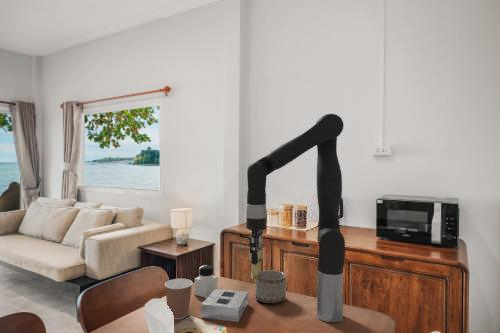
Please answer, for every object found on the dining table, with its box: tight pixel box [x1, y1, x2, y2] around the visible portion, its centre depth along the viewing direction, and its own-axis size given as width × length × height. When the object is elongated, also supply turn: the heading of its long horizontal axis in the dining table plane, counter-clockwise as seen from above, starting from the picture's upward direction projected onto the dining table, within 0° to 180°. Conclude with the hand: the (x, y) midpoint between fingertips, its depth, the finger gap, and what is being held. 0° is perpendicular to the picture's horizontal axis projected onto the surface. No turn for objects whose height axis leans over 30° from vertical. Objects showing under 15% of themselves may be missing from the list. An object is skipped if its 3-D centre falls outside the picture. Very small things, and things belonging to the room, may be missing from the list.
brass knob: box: [248, 248, 264, 280], centre depth 128 cm, size 5×5×10 cm
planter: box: [254, 269, 287, 304], centre depth 145 cm, size 13×13×10 cm
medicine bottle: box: [194, 264, 218, 299], centre depth 149 cm, size 7×7×12 cm
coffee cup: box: [164, 278, 194, 320], centre depth 129 cm, size 10×10×12 cm
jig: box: [200, 288, 249, 323], centre depth 133 cm, size 14×16×5 cm
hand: (256, 261), depth 128 cm, fingers closed on brass knob, 5 cm apart
